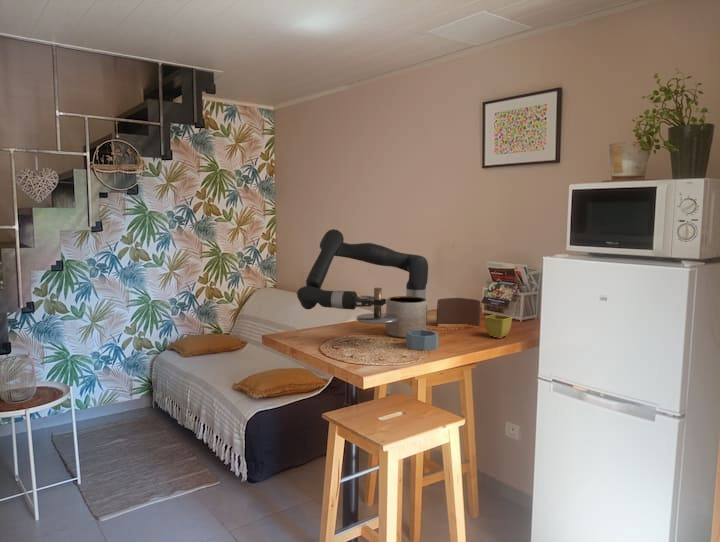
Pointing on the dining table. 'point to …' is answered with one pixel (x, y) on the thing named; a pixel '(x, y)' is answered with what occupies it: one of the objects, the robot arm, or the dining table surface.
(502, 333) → the flower pot
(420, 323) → the planter
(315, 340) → the dining table surface
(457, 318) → the letter holder
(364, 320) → the spindle on round base
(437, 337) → the bowl
